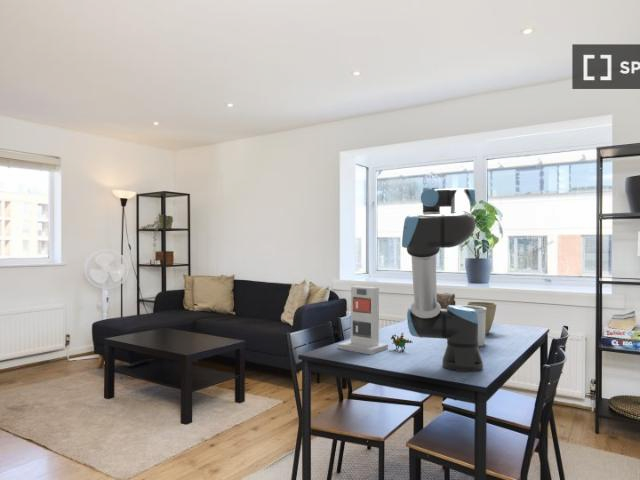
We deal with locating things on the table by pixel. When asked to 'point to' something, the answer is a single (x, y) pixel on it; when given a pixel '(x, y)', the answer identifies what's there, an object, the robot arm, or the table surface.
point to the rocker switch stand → (365, 322)
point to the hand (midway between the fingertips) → (431, 274)
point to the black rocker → (362, 329)
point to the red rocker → (362, 305)
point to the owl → (445, 299)
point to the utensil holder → (481, 320)
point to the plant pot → (487, 313)
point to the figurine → (400, 341)
